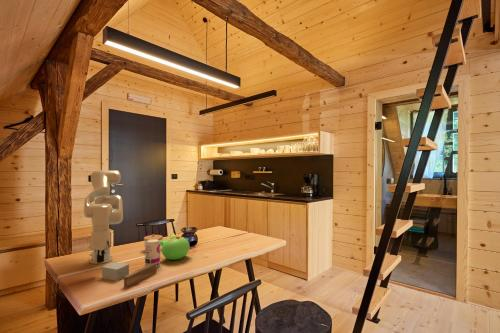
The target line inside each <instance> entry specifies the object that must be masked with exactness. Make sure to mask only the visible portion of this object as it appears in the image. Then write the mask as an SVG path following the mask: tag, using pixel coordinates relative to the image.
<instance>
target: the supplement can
mask: <svg viewBox="0 0 500 333" xmlns="http://www.w3.org/2000/svg"><path fill="white" fill-rule="evenodd" d="M144 248H145V249H144V251H145V252H144V253H145V254H144V257H145V258H144V260H145V261H144V263H145V265H144V267H145V266H147V265H150V264H152V263H156V268H158V267H159V266H160V265H161V247H160V241H159V240H158V239H151V240H147V242H146V244H145V246H144Z"/></svg>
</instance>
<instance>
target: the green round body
mask: <svg viewBox="0 0 500 333" xmlns="http://www.w3.org/2000/svg"><path fill="white" fill-rule="evenodd" d="M160 245H161V254H162V256H163V257H164V258H166V259H167V260H171V261H174V260H175V261H176V260H180V259H182V258H184V257H185V256H186V255H187V254H188V253H189V250H190V247H191V245H190V242H189V241H188V239H187V238H186V237H184V236H180V235H179V236H178V235H177V236H176V234H175V233H172V234H171V236H170V238H168V239H166V240H162V241H160Z"/></svg>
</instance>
